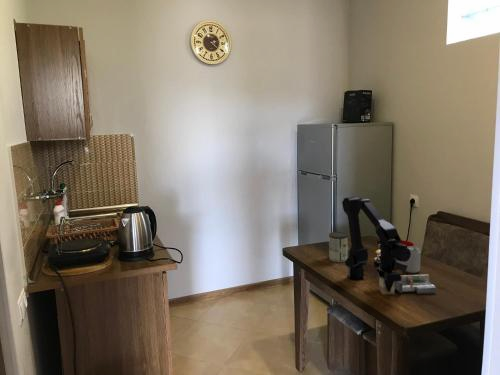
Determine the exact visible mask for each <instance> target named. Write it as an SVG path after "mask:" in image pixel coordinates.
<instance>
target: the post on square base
mask: <svg viewBox="0 0 500 375" xmlns="http://www.w3.org/2000/svg"><path fill="white" fill-rule="evenodd" d="M430 286H435V284H433V283H431V284H425V285H413V280H410V285H403V283H402V282H401V281H395V284H394V290H396V291H397V292H398V293H399V294H403V292H405V293H406V292H416V287H430Z"/></svg>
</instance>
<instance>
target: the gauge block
mask: <svg viewBox="0 0 500 375" xmlns="http://www.w3.org/2000/svg"><path fill="white" fill-rule="evenodd" d="M395 283H396V281H394V283H393V285H392V288H391V291H390V292H388V291H387V289H386V286H385V283H384V280H383V277H379V276H378V284H379V286H378V290H379V292H380V293H381V294H382V295H395Z"/></svg>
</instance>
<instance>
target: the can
mask: <svg viewBox="0 0 500 375" xmlns="http://www.w3.org/2000/svg"><path fill="white" fill-rule="evenodd" d="M407 248H408V249H409V250H410V252H411V256H410V258H409V260H408V261H406V262H404V263H406V264H407V265H408V267H407V269H406V272H407V273H410V274H417V273H419V272H420V270H421V251H420V248H419V247H417V246H414V247H413V246H409V247H407Z"/></svg>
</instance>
